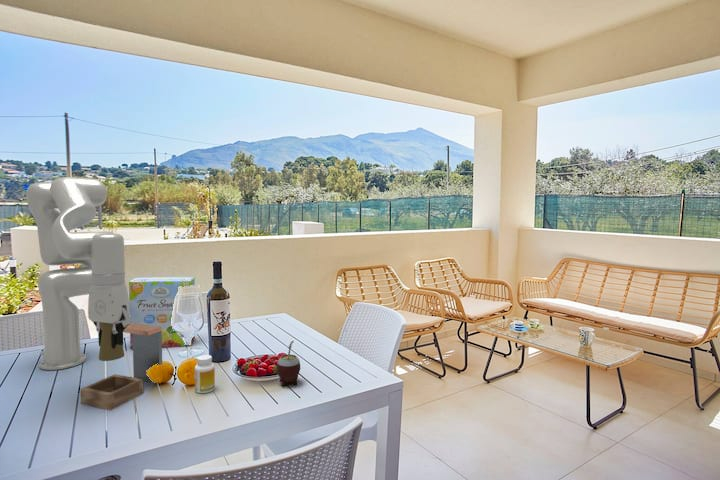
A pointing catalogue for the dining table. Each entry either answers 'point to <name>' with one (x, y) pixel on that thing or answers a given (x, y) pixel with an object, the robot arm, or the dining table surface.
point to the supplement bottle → (204, 374)
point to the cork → (109, 344)
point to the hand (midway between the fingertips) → (111, 345)
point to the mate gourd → (288, 368)
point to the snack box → (156, 305)
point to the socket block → (103, 399)
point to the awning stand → (145, 348)
